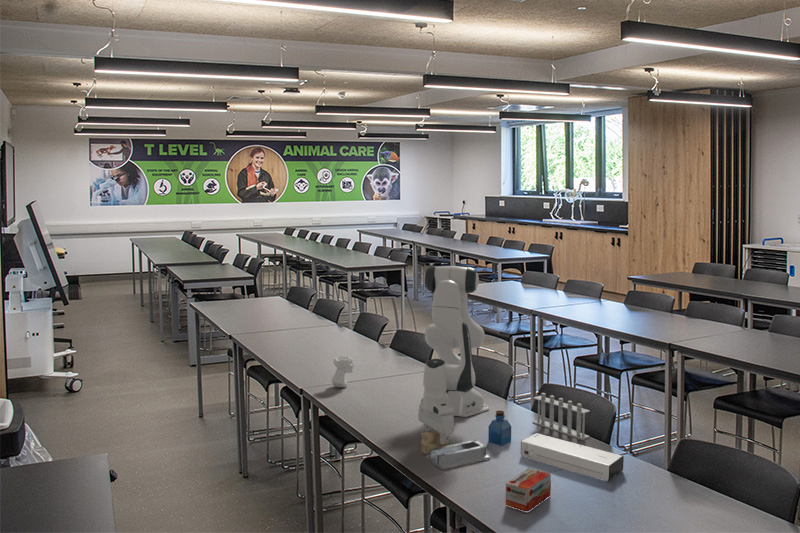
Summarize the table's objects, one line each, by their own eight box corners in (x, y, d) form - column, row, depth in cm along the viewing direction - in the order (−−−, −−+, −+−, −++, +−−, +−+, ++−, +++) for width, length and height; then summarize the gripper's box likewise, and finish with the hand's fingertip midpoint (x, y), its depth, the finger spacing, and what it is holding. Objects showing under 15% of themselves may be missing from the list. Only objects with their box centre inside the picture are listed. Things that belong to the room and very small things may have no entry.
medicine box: (528, 490, 222) (528, 466, 221) (551, 497, 217) (551, 473, 216) (504, 507, 211) (504, 482, 210) (528, 515, 206) (528, 489, 205)
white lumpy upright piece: (331, 385, 340) (331, 355, 338) (354, 384, 341) (353, 354, 339) (331, 390, 330) (331, 360, 328) (355, 389, 331) (354, 359, 330)
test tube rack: (589, 437, 267) (590, 405, 266) (582, 440, 265) (583, 407, 263) (539, 420, 287) (539, 390, 285) (532, 423, 284) (533, 392, 282)
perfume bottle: (498, 437, 268) (498, 408, 266) (511, 441, 264) (511, 411, 262) (488, 442, 264) (488, 411, 262) (501, 446, 259) (501, 415, 258)
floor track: (471, 448, 258) (471, 437, 257) (490, 459, 247) (490, 448, 247) (425, 458, 248) (425, 447, 248) (442, 470, 238) (442, 459, 237)
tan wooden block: (444, 446, 260) (444, 428, 259) (448, 449, 257) (448, 431, 256) (421, 451, 255) (421, 433, 254) (425, 454, 252) (425, 435, 252)
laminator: (623, 472, 236) (623, 455, 235) (607, 484, 226) (608, 466, 226) (536, 448, 258) (536, 432, 257) (518, 458, 249) (519, 441, 248)
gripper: (414, 397, 261) (414, 432, 263) (442, 412, 243) (442, 449, 245) (428, 395, 264) (428, 429, 266) (457, 409, 246) (456, 446, 248)
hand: (435, 439), depth 255 cm, fingers open, 8 cm apart
